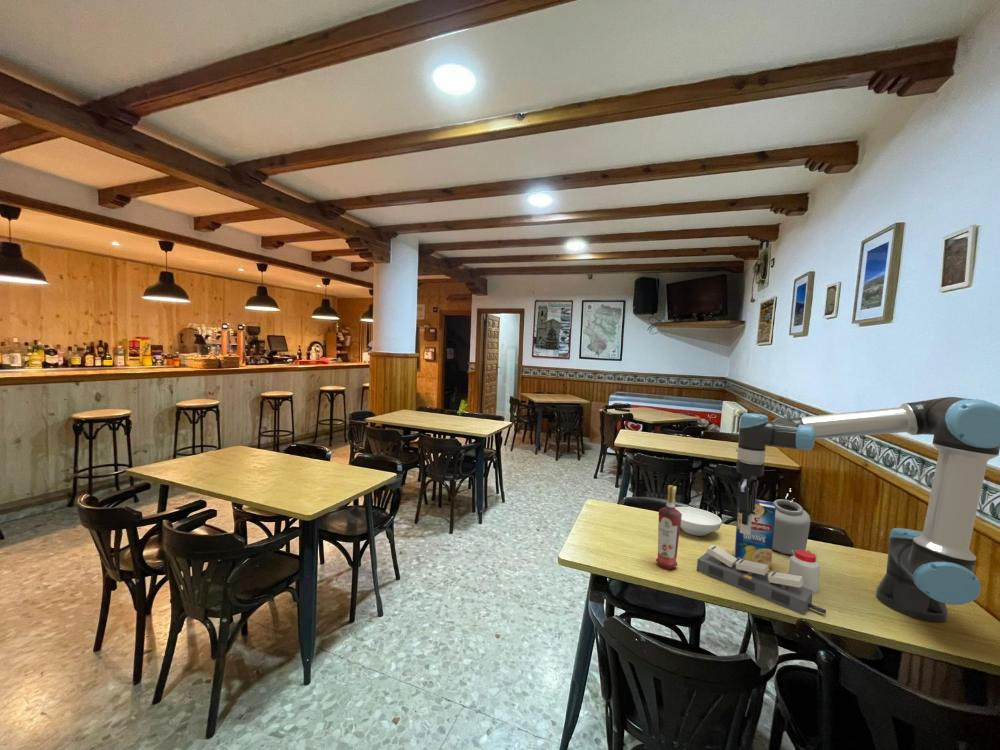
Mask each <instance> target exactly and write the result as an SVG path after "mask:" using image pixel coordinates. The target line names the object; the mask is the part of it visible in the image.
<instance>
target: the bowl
mask: <svg viewBox="0 0 1000 750" xmlns="http://www.w3.org/2000/svg"><path fill="white" fill-rule="evenodd" d="M675 509H677V510H678V511H679V512H680V513H681V514H682V517H681V525H680V529H681V530H682V531H683V532H685V533H687V534H689V535H691V536H698V537H703V536H707V535H708V534H710V533H713V532H714V531H718V530H720V528H721V526H722V519H721V517H719V516H718V515H716V514H715V513H712V511H711V512H710V511H707V510H704V509H701V508H695V507H692V506H691V507H690V506H675Z"/></svg>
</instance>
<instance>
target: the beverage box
mask: <svg viewBox="0 0 1000 750" xmlns="http://www.w3.org/2000/svg"><path fill="white" fill-rule="evenodd" d="M737 500H738V501H737V502H738V503H737V515H736V526H735V527H736V528H735V529H736V530H735V540H734V541H735V543H734V551H733V552H734V555H733V557H735V558H737V561H739V560H740V559H743V560H747V561H752V562H757V563H762V564H766V565H768V568H769V571H771V569H772V560H773V559H772V558H773V556H772V555H773V549H772V547H773V535H774V523H775V511H776V507H775V505H774V503H773V502H774V501H773V502H772V501H767V500H761V499H757V498H756V502H755V510H754V511H753V512H755V515H754V514H752V521H751V534H750V535H746V534H743V533H740V522H741V513H738V511H739V497H738V499H737ZM737 561H736V562H737Z"/></svg>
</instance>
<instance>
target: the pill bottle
mask: <svg viewBox="0 0 1000 750" xmlns="http://www.w3.org/2000/svg"><path fill="white" fill-rule="evenodd" d="M788 568H789V569H788V574H791V575H798V576H803V581H804V583H803V584H802V587H804V588H807V589H810V590H813V592H812V594H817V593H818V591H819V583H820V582H819V581H820V572H821V571H820V570H821V564H820V563H819V562H818V561H817V555H816V554H815V553H813V552H811V551H807V550H806V549H805V550H795V555H790V559H789V566H788Z"/></svg>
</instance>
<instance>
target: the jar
mask: <svg viewBox="0 0 1000 750" xmlns="http://www.w3.org/2000/svg"><path fill="white" fill-rule="evenodd" d="M791 489H792V488H789V492H790V493H791V492H792V490H791ZM788 496H789V493H786V496H785V499H783V498H781V499H775V500H774V501H773V503H774V505H775V507H776V511H775V523H774V535H773V547H772V550H774V551H775V552H778V553H781V554H783V555H790V556H793V555H795V550H805V551H806V550H807V544H808V540H809V539H808V538H809V533H810V526H811V516H810V515H809V514H808V513H809V512H807V511H805V510H804V509H803V507H802V506H801V505H800V504H799V503H797V502H795V501H794V500H793V499H791V500H789V499H787V497H788Z"/></svg>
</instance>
